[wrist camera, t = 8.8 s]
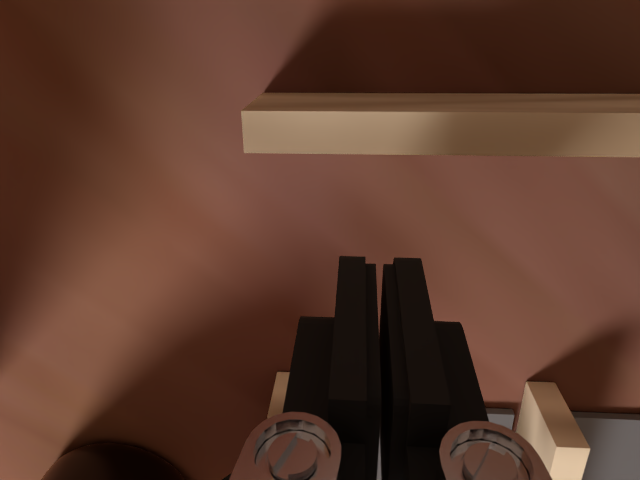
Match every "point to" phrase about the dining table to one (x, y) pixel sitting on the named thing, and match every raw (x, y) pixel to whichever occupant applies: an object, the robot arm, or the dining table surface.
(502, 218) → the dining table surface
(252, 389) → the dining table surface
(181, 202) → the dining table surface
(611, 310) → the dining table surface
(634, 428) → the pads
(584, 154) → the lane box
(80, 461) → the supplement bottle
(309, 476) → the robot arm
